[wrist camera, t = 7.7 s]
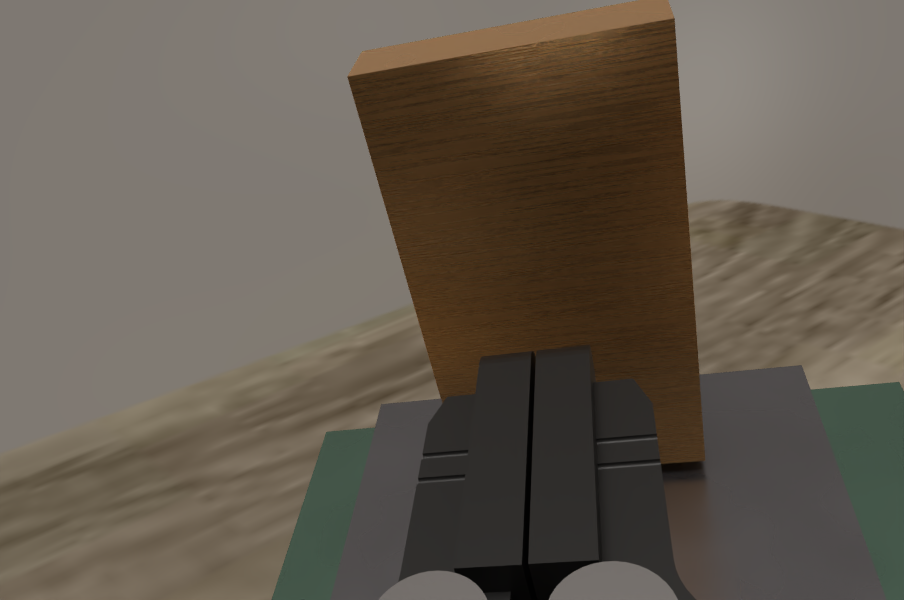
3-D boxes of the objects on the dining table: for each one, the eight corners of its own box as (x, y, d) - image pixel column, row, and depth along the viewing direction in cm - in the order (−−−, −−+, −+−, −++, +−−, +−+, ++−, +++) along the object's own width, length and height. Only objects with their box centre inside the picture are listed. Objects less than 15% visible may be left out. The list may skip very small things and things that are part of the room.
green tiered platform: (209, 913, 17) (37, 715, 13) (340, 467, 26) (265, 278, 23) (1138, 950, 13) (1282, 697, 9) (894, 424, 23) (917, 194, 19)
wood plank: (464, 478, 18) (347, 76, 13) (490, 271, 25) (419, -47, 20) (705, 460, 17) (674, 17, 12) (665, 249, 24) (635, -92, 19)
